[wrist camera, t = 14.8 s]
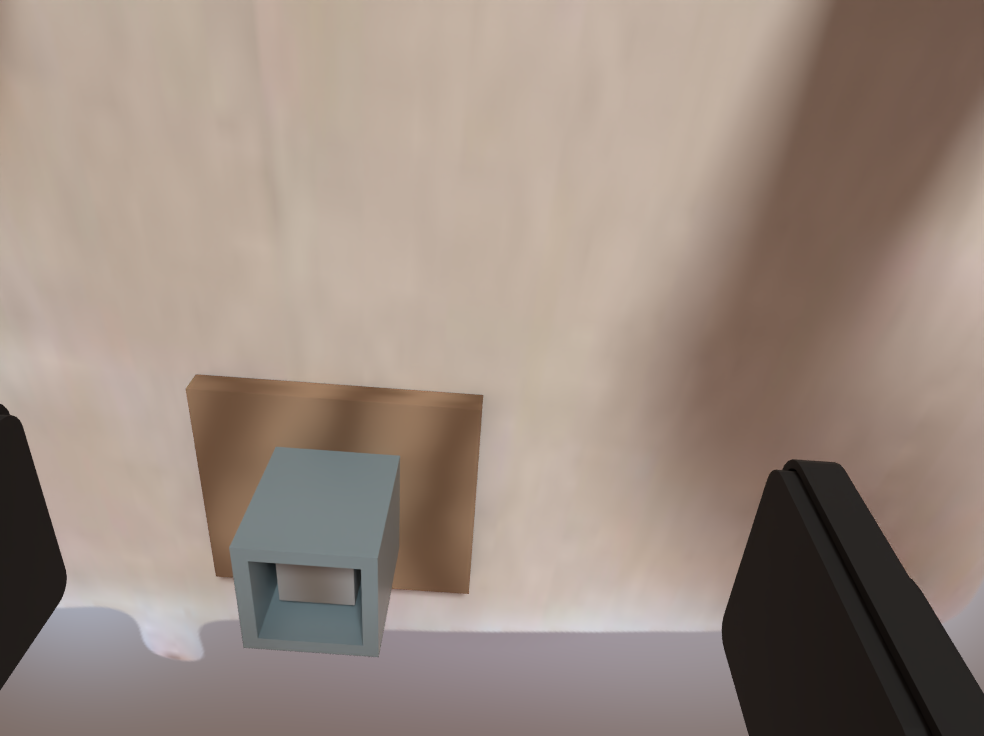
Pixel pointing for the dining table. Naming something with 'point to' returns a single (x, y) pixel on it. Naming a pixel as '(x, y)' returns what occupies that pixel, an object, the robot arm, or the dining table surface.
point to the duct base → (348, 428)
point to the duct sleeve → (318, 549)
